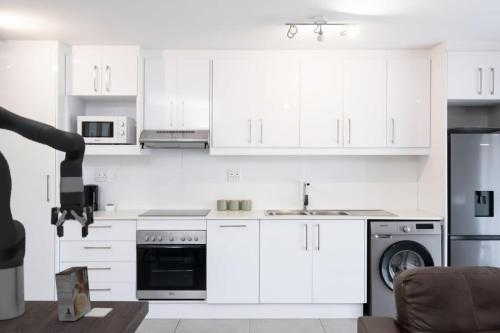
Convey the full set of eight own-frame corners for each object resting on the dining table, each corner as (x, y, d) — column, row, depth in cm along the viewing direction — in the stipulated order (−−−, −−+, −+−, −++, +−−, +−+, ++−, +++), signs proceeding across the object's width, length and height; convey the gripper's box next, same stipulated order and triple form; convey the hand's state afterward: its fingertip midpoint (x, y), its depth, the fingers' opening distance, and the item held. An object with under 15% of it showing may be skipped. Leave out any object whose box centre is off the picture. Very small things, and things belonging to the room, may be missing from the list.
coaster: (83, 316, 131) (83, 315, 131) (94, 309, 138) (94, 307, 138) (103, 317, 131) (103, 316, 131) (112, 309, 138) (112, 308, 138)
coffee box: (75, 310, 137) (72, 266, 137) (91, 310, 136) (88, 265, 136) (58, 321, 128) (54, 273, 128) (75, 321, 127) (71, 273, 127)
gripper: (45, 191, 128) (46, 239, 128) (85, 190, 127) (86, 239, 127) (58, 189, 135) (59, 234, 136) (96, 189, 134) (97, 235, 134)
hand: (72, 237), depth 131 cm, fingers open, 8 cm apart
